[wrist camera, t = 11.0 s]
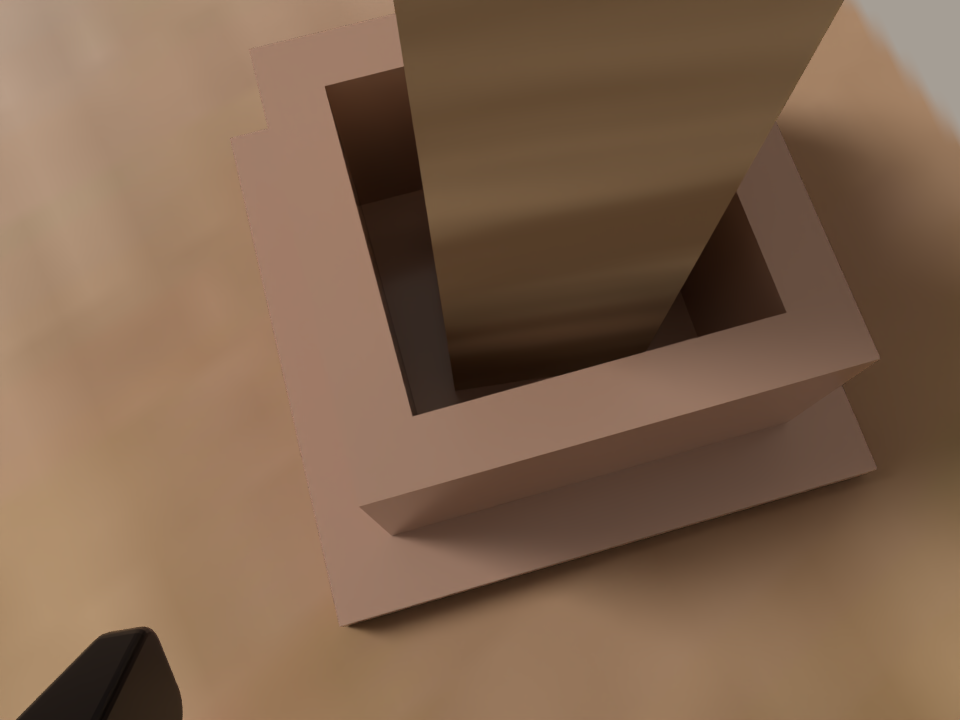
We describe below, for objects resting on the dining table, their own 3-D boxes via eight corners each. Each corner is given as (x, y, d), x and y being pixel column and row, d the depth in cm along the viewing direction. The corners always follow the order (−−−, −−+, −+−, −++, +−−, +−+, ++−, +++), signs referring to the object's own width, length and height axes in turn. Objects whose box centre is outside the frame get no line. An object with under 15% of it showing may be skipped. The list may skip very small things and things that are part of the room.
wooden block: (638, 363, 16) (1332, -863, 3) (454, 390, 16) (274, -754, 3) (603, 198, 17) (989, -1274, 4) (430, 223, 17) (209, -1205, 4)
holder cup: (863, 474, 16) (1003, 418, 12) (345, 626, 15) (287, 627, 11) (682, 41, 19) (739, -135, 15) (237, 153, 18) (158, 4, 14)
